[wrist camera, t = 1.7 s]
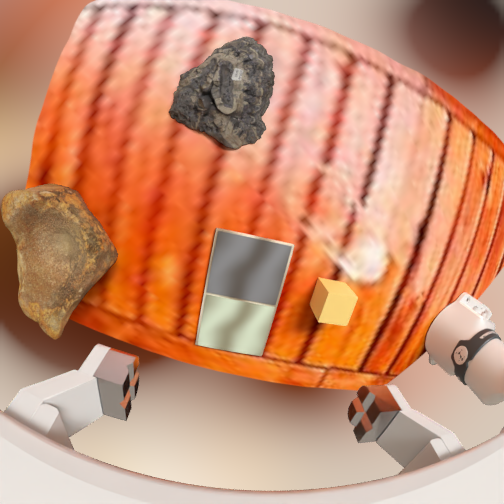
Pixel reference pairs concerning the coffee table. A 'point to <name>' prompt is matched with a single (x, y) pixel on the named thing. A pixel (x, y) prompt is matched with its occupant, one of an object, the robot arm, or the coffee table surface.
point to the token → (332, 302)
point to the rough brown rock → (55, 251)
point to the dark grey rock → (227, 93)
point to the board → (242, 291)
